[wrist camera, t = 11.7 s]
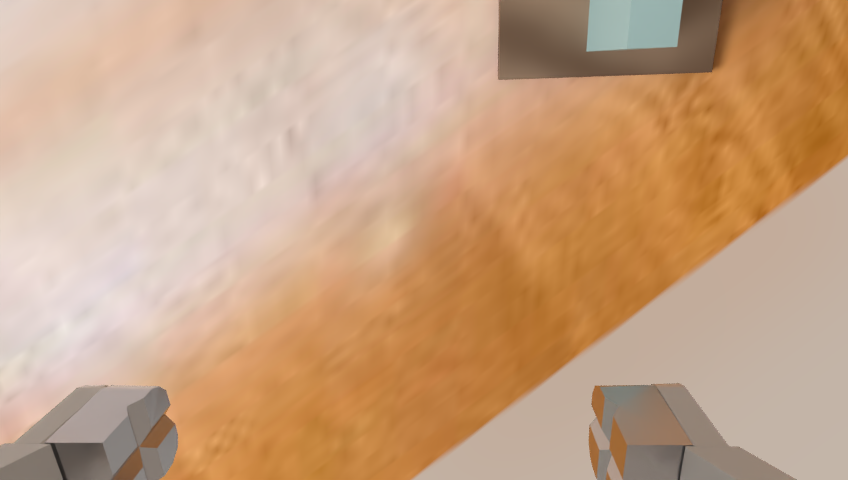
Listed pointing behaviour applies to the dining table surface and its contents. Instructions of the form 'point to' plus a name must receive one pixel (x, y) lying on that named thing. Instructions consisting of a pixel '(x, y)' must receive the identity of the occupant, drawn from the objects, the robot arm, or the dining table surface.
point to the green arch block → (633, 24)
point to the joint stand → (566, 51)
